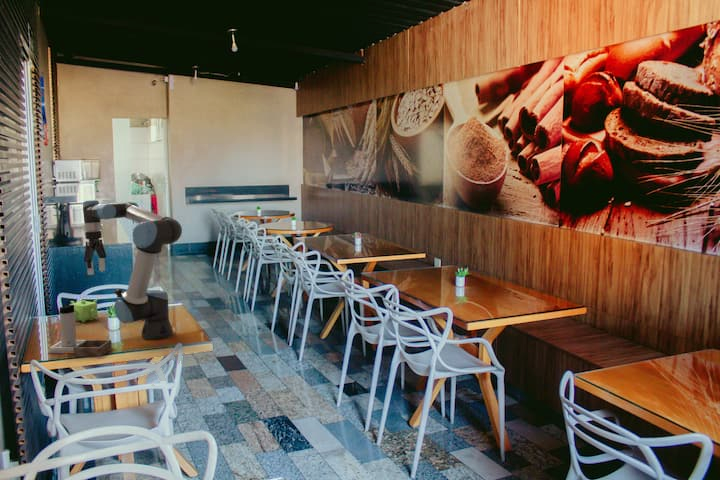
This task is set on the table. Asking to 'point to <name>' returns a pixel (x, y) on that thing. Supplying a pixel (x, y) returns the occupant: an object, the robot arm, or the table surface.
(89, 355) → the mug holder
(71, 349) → the tray
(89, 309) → the green rounded cube block
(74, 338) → the travel mug
